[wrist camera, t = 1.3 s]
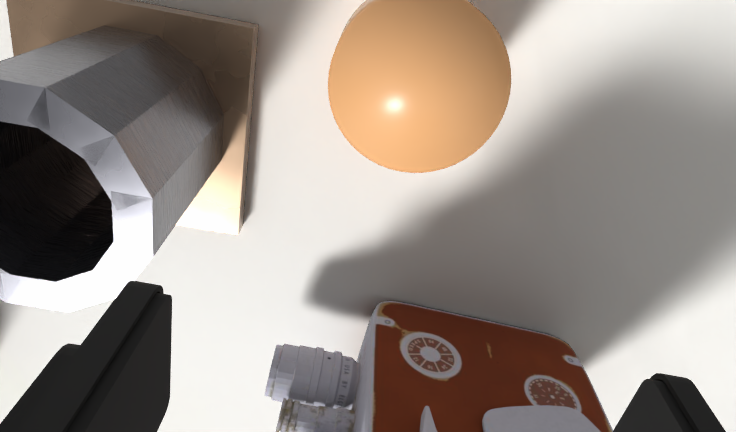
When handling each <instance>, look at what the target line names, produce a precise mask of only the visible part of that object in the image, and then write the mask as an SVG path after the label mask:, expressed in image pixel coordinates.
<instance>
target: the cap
mask: <svg viewBox="0 0 736 432" xmlns="http://www.w3.org/2000/svg"><path fill="white" fill-rule="evenodd" d="M510 88H511V68H510V62H509V57H508V54H507V50H506V47H505V45H504V43H503V41H502V38H501V36H500V35H499V33H498V31H497V30H496V28H495V27H494V25H493V24H492V23H491V22H490V21H489V20H488V19H487V17H486V16H485V15H484V14H482V13H481V12H480V11H479V10H478V9H477V8H476V7H474V6H473V5H472V4H471V3H470V2H469V1H468V0H366V1H365V2H364V3H363V4H361V6H360V7H359V8H358V9H357V10H356V11H355V12H354V13H353V15H352V16H351V18H350V19H349V21H348V22H347V24H346V26H345V28H344V30H343V32H342V35H341V37H340V39H339V42H338V44H337V46H336V49H335V52H334V55H333V57H332V60H331V65H330V69H329V78H328V94H329V101H330V106H331V110H332V113H333V116H334V119H335V121H336V123H337V125H338V127H339V129H340V130H341V132H342V133H343V135H344V137H345V138H346V139H347V140H348V141H349V143H350V144H351V145H352V146H353V147H354V148H355V149H356V150H357V151H358V152H359V153H361V154H362V155H363V156H365V157H366V158H368V159H369V160H371V161H373V162H375V163H377V164H378V165H381V166H383V167H386V168H389V169H392V170H397V171H401V172H410V173H423V172H431V171H436V170H440V169H444V168H447V167H449V166H452V165H455V164H457V163H458V162H460V161H462V160H464V159H466V158H467V157H469V156H470V155H472V154H473V153H474V152H476V151H477V150H478V149H479V148H480V147H481V146H483V144H484V143H485V142H486V141H487V140H488V139H489V138H490V137H491V135H492V134H493V132H494V131H495V130H496V128H497V127H498V125H499V123H500V121H501V119H502V117H503V115H504V112H505V110H506V107H507V104H508V100H509V95H510Z"/></svg>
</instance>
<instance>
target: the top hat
mask: <svg viewBox="0 0 736 432" xmlns="http://www.w3.org/2000/svg"><path fill="white" fill-rule="evenodd" d="M7 8H8V15H9V23H10V31H11V38H12V46H13V53H14V57H11V58H8V59H5V60H2V61H0V300H2V301H4V302H6V303H12V304H18V305H24V306H31V307H37V308H43V309H50V310H56V311H63V312H72V311H76V310H79V309H82V308H86V307H89V306H92V305H96V304H99V303H102V302H106V301H109V300H112V299H115V298H116V297H117V296H118V294H119V293H120V292H121V290H122V289H123V288H124V286H125V285H126V284H127V283H128V282H129V281H131V280H132V281H134V280H135V279H136V278H137V277H138V275H139V274H140V273H141V271H142V270H143V269H144V268H145V266H146V265H147V264H148V262H149V261H150V260H151V259H152V257H153V256H154V255H155V253H156V252H157V251H158V249H159V248H160V246H161V245H162V243H163V242H164V241H165V239H166V238H167V236H168V235H169V234H170V232H171V231H172V229H173V228H174V227H175V225H180V226H186V227H192V228H198V229H204V230H210V231H216V232H222V233H227V234H233V235H238V234H239V232H240V230H241V228H242V226H243V215H244V202H245V189H246V177H247V164H248V152H249V139H250V127H251V114H252V102H253V89H254V76H255V64H256V51H257V39H258V26H259V25H258V24H253V23H248V22H243V21H237V20H232V19H227V18H222V17H217V16H211V15H206V14H201V13H196V12H191V11H185V10H180V9H175V8H170V7H164V6H159V5H154V4H149V3H144V2H138V1H133V0H7Z"/></svg>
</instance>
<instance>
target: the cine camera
mask: <svg viewBox="0 0 736 432" xmlns="http://www.w3.org/2000/svg"><path fill="white" fill-rule="evenodd" d="M265 396H269V397H271V399H272V400H275V401H280V402H282V406H281V411H280V415H279V420H278V424H277V429H276V432H279V430H280V431H281V432H613V430H612V427H611V425H610V423H609V421H608V418H607V416H606V414H605V412H604V410H603V407H602V405H601V403H600V401H599V399H598V397H597V394H596V392H595V390H594V388H593V386H592V384H591V382H590V380H589V377H588V375H587V373H586V371H585V370H584V368H583V366H582V364H581V362H580V361H579V359H578V357H577V355H576V354H575V352H574V351H573V350H572V348H571V347H570V346H569V344H567V343H566V342H564V341H562V340H560V339H559V338H556V337H554V336H551V335H548V334H544V333H540V332H535V331H531V330H527V329H522V328H518V327H513V326H509V325H504V324H499V323H495V322H490V321H486V320H481V319H476V318H472V317H467V316H463V315H458V314H454V313H449V312H444V311H440V310H435V309H431V308H426V307H421V306H417V305H412V304H407V303H401V302H395V301H385V302H381V303H379V304H378V305H377V306H376V308H375V310H374V311H373V313H372V316H371V319H370V321H369V324H368V327H367V330H366V334H365V337H364V340H363V343H362V346H361V350H360V353H359V356H358V359H357V362H356V361H355V360H354V359H353V358H351V357H346V356H342V353H341V352H338V351H335V352H334V353H332V352H327V351H324V348H319V347H317V348H311V347H306V346H301V345H300V347H298V346H293V345H288V344H284V345H283V346H281V345H277V346H276V349H275V353H274V357H273V361H272V365H271V369H270V373H269V378H268V382H267V386H266V391H265Z"/></svg>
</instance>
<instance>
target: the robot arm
mask: <svg viewBox="0 0 736 432" xmlns="http://www.w3.org/2000/svg"><path fill="white" fill-rule="evenodd" d="M171 321H172V297H171V296H170V295H166V294H163V288H162V286H160V285H155V284H149V283H143V282H138V281H132V280H131V281H129V282H128V283H127V284H126V285H125V286H124V288H123V289H122V290H121V292H120V293H119V294H118V296H117V297H116V298H115V300H114V301H113V302H112V304H111V305H110V306H109V308H108V309H107V311H106V312H105V313H104V315H103V316H102V317H101V319H100V320H99V321H98V323H97V324H96V325H95V327H94V328H93V329H92V331H91V332H90V333H89V335H88V336H87V337H86V339H85V340H84V341H83V343H82V344H81V345H75V344H67V345H65V346H63V347H62V348H61V349H60V350H59V351H58V352H57V353H56V354H55V355H54V357H53V358H52V359H51V360H50V362H49V363H48V364H47V365H46V367H45V368H44V369H43V370H42V372H41V373H40V374H39V376H38V377H37V378H36V379H35V381H34V382H33V383H32V384H31V386H30V387H29V388H28V389H27V391H26V392H25V393H24V395H23V396H22V397H21V398H20V400H19V401H18V402H17V403H16V405H15V406H14V407H13V409H12V410H11V411H10V412H9V414H8V415H7V416H6V417H5V419H4V420H3V421H2V422H1V424H0V432H157V430H158V428H159V426H160V424H161V422H162V420H163V418H164V415H165V413H166V410H167V407H168V403H169V398H170V368H171ZM613 432H726V431H725V430H724V428H723V427H722V425H721V424H720V422H719V421H718V419H717V418H716V416H715V415H714V413H713V412H712V410H711V409H710V407H709V406H708V404H707V403H706V401H705V400H704V398H703V397H702V395H701V394H700V392H699V391H698V389H697V388H696V386H695V385H694V384H693V382H692V381H691V380H689V379H687V378H683V377H678V376H672V375H666V374H658V373H656V374H655V375H653V376H652V377H651V378H650V379H646V380H644V381H643V382H642V384H641V385H640V387H639V389H638V390H637V392H636V394H635V395H634V397H633V399H632V400H631V402H630V404H629V405H628V407H627V409H626V410H625V412H624V414H623V415H622V417H621V419H620V420H619V422H618V424H617V425H616V427H615V429H614V431H613Z"/></svg>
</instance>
